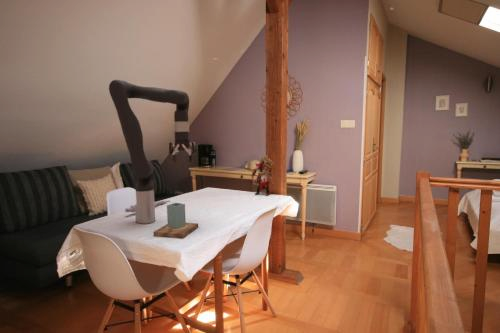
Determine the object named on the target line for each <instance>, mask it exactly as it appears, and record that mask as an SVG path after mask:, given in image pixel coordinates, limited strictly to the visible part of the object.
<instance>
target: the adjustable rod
mask: <svg viewBox="0 0 500 333" xmlns="http://www.w3.org/2000/svg"><path fill="white" fill-rule="evenodd" d="M170 201H171V200H160V201H154V203H155V207H156V206H161V205H164V204H167V203H168V202H170ZM124 212H125V213H135V204H134V205H133V204H132V205H130V207H126V208H125V209H124Z"/></svg>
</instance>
